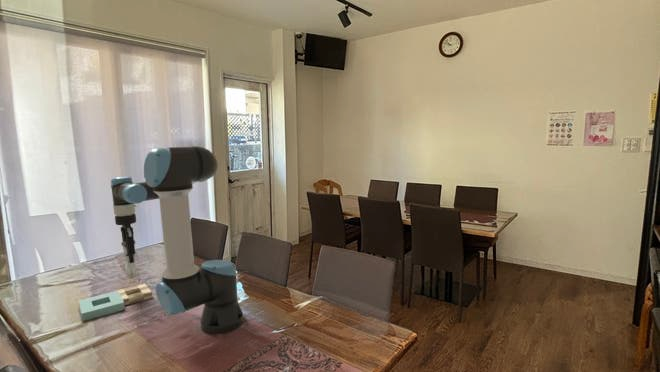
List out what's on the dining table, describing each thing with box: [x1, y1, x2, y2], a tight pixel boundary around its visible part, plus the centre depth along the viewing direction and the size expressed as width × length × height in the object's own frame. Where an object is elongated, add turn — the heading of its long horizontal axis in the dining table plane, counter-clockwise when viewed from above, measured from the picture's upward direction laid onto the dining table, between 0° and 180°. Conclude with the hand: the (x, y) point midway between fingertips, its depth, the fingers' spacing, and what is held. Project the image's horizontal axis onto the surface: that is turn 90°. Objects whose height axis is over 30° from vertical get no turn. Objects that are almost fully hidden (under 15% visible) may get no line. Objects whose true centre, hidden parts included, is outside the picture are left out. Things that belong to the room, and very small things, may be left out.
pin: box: [121, 239, 138, 279], centre depth 151 cm, size 5×5×15 cm
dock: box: [78, 290, 126, 322], centre depth 144 cm, size 14×14×3 cm
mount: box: [116, 283, 153, 306], centre depth 154 cm, size 12×12×2 cm
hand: (131, 268), depth 152 cm, fingers closed on pin, 4 cm apart
